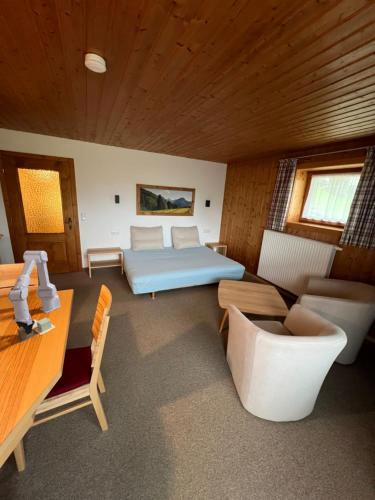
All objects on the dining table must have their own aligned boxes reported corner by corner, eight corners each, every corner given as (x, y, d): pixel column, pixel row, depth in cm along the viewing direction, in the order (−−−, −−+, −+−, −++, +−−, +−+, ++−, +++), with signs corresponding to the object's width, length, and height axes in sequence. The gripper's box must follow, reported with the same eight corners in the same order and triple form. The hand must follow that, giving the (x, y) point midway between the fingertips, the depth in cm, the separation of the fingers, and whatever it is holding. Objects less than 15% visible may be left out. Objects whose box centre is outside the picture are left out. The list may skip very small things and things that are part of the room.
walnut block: (18, 336, 109) (16, 329, 107) (29, 331, 113) (27, 324, 111) (23, 340, 106) (21, 332, 105) (33, 334, 111) (32, 327, 109)
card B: (48, 322, 122) (48, 322, 122) (55, 327, 118) (55, 326, 118) (33, 329, 115) (33, 329, 115) (41, 334, 111) (40, 334, 111)
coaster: (30, 330, 114) (30, 329, 114) (37, 334, 111) (37, 334, 111) (16, 337, 109) (16, 336, 108) (22, 342, 105) (22, 341, 105)
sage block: (47, 324, 120) (46, 317, 118) (51, 327, 117) (50, 320, 116) (37, 329, 115) (36, 321, 114) (42, 332, 113) (41, 324, 112)
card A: (35, 319, 123) (35, 319, 123) (41, 324, 120) (41, 323, 120) (19, 326, 117) (19, 326, 117) (26, 331, 113) (26, 331, 113)
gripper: (5, 308, 105) (10, 330, 109) (18, 318, 98) (23, 340, 102) (21, 302, 111) (25, 323, 115) (34, 311, 104) (38, 332, 108)
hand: (25, 330), depth 109 cm, fingers open, 7 cm apart
